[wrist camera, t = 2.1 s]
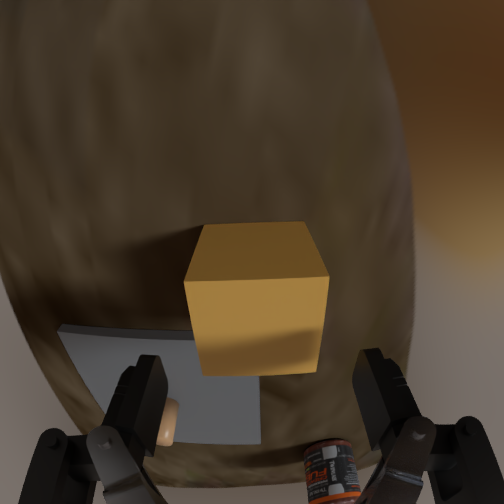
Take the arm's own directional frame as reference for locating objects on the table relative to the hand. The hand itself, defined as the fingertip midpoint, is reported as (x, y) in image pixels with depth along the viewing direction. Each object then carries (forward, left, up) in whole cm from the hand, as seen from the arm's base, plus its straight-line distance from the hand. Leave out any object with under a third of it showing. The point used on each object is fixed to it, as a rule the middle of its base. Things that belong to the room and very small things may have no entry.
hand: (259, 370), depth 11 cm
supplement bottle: (+26, +8, -8) cm, 28 cm away
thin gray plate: (+13, -8, -8) cm, 17 cm away
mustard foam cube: (0, 0, -8) cm, 8 cm away
